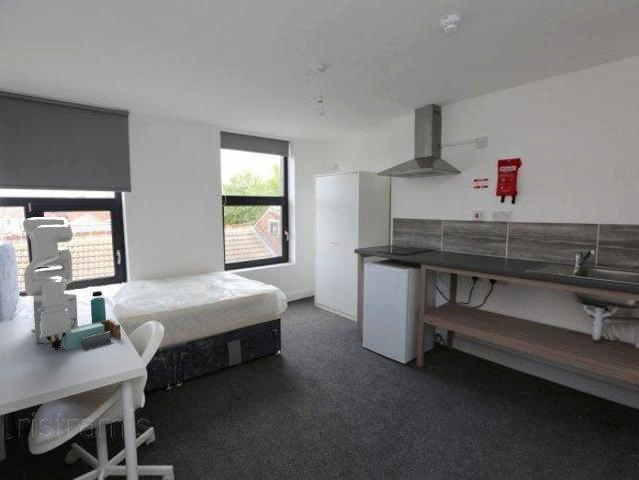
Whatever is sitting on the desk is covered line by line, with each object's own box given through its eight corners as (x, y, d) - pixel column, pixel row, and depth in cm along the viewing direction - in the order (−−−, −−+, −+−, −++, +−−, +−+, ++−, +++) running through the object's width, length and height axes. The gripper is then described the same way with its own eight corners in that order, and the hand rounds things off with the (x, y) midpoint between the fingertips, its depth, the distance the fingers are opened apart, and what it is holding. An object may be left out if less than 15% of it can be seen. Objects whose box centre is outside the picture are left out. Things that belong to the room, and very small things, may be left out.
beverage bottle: (109, 327, 172) (107, 290, 171) (97, 331, 166) (95, 293, 164) (100, 325, 174) (99, 289, 173) (88, 330, 168) (86, 292, 166)
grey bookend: (82, 347, 147) (82, 337, 146) (109, 340, 155) (109, 331, 155) (86, 350, 143) (85, 341, 143) (114, 343, 152) (113, 333, 151)
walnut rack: (67, 343, 151) (67, 329, 150) (111, 332, 165) (110, 319, 164) (75, 350, 143) (75, 335, 143) (120, 338, 157) (120, 324, 156)
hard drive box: (48, 344, 150) (45, 302, 148) (34, 342, 152) (31, 301, 150) (79, 332, 165) (76, 294, 164) (66, 331, 167) (64, 293, 165)
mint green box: (63, 346, 148) (62, 331, 147) (100, 336, 160) (99, 322, 159) (66, 349, 145) (65, 334, 144) (104, 339, 156) (104, 325, 156)
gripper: (33, 314, 133) (36, 357, 134) (77, 306, 144) (79, 345, 146) (29, 310, 138) (32, 352, 139) (72, 303, 149) (75, 341, 151)
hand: (56, 348), depth 143 cm, fingers closed
